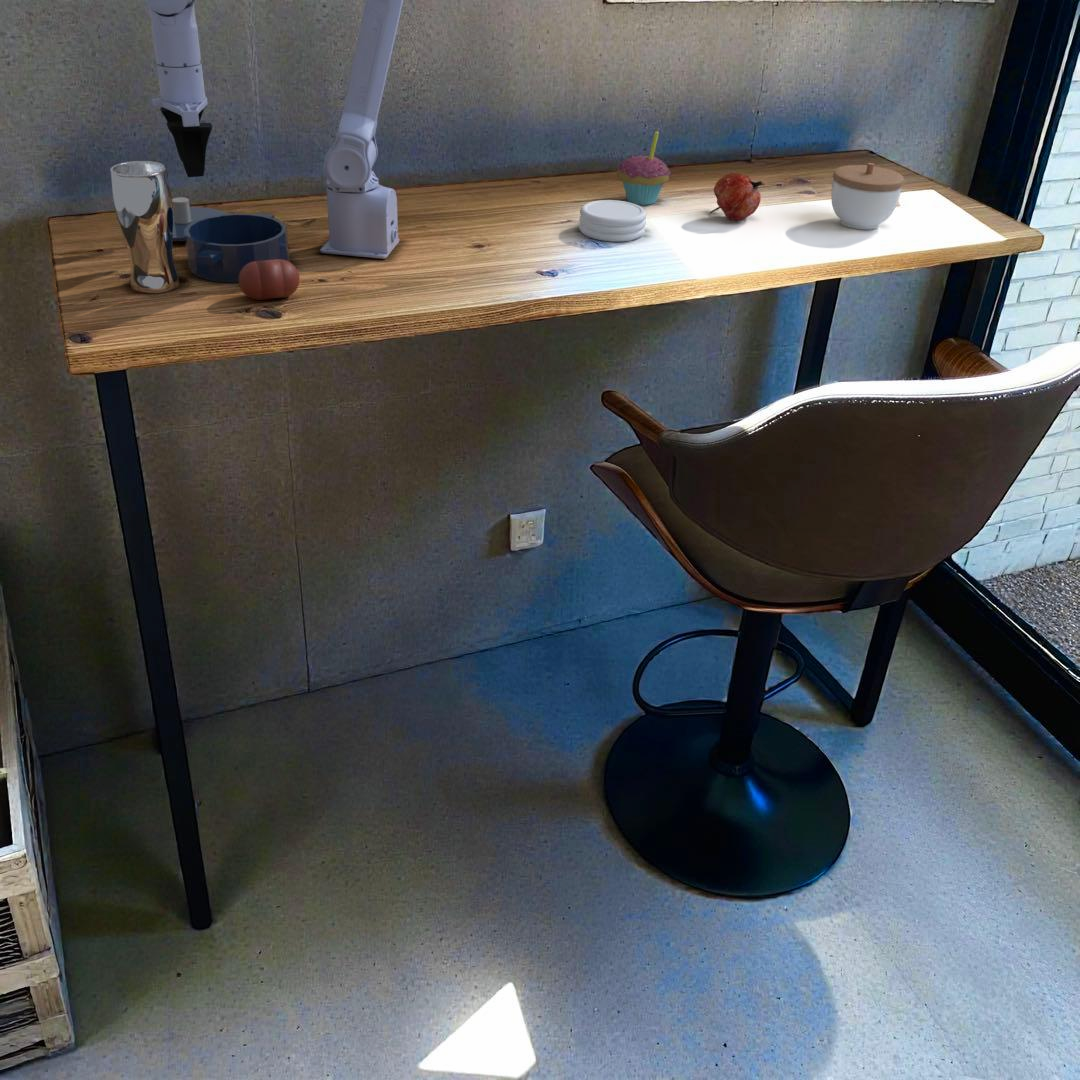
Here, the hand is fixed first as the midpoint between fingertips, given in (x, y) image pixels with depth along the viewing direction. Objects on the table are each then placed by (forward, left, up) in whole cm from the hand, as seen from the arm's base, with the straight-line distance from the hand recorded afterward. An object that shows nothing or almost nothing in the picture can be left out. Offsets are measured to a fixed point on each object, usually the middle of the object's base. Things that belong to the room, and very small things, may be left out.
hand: (192, 168), depth 160 cm
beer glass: (-1, +17, -11) cm, 20 cm away
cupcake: (-60, -37, -11) cm, 71 cm away
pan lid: (+5, -4, -10) cm, 12 cm away
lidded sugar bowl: (-95, -35, -11) cm, 102 cm away
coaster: (-57, -20, -11) cm, 61 cm away
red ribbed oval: (-17, +18, -10) cm, 26 cm away
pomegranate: (-75, -32, -11) cm, 82 cm away
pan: (-9, +8, -10) cm, 15 cm away
